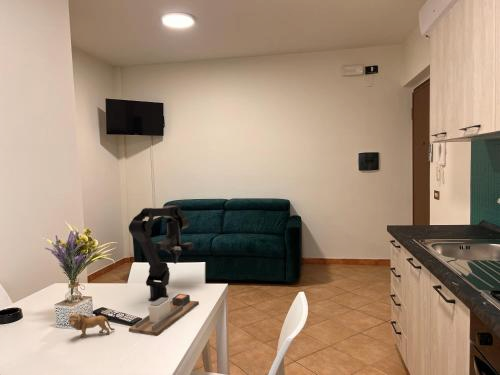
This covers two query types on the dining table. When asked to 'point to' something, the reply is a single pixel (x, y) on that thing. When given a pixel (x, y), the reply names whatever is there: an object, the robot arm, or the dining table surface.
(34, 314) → the dining table surface
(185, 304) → the rail mount
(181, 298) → the button
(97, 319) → the lion figurine
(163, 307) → the block
